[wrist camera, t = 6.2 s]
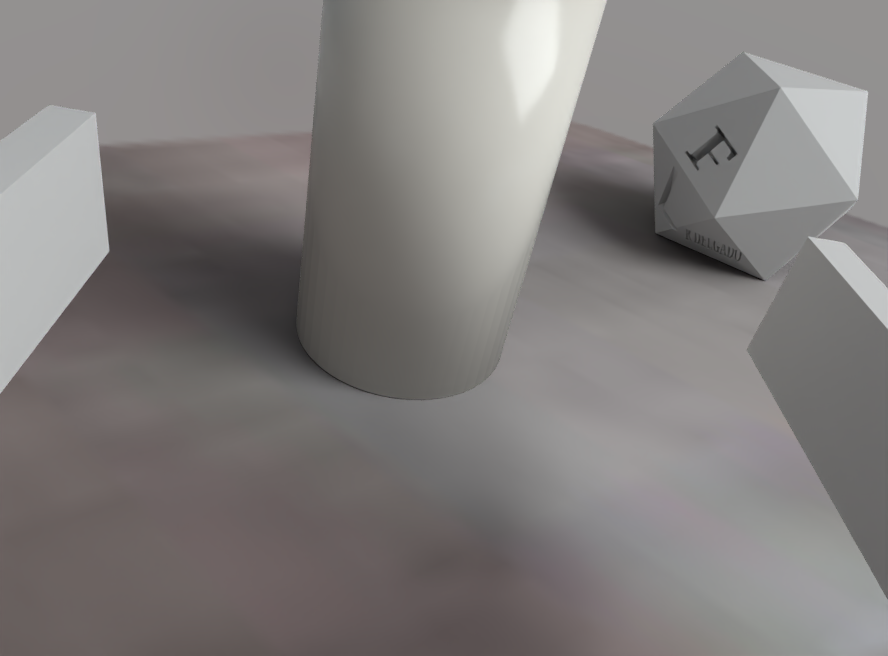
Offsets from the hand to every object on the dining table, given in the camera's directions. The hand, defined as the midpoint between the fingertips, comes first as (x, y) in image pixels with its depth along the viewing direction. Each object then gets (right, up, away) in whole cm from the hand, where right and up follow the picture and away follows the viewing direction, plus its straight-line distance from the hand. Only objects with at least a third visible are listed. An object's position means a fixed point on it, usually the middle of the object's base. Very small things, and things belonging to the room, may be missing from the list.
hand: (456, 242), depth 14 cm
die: (+12, +2, +19) cm, 23 cm away
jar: (-2, -2, +9) cm, 9 cm away
